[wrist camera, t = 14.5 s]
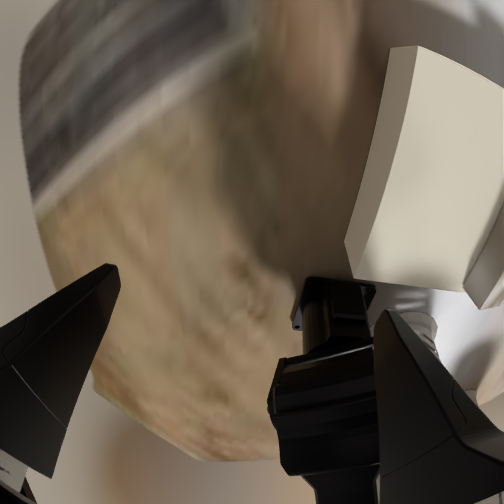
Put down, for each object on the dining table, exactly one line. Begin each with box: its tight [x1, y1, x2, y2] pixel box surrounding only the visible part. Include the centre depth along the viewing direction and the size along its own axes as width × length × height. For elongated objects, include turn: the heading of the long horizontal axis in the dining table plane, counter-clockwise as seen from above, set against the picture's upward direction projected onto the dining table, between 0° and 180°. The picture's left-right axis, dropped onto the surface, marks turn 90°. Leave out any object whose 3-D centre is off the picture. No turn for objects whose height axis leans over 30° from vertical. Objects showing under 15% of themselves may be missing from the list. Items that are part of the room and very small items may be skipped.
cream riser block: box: [344, 46, 504, 293], centre depth 17 cm, size 15×10×4 cm, turn 174°
